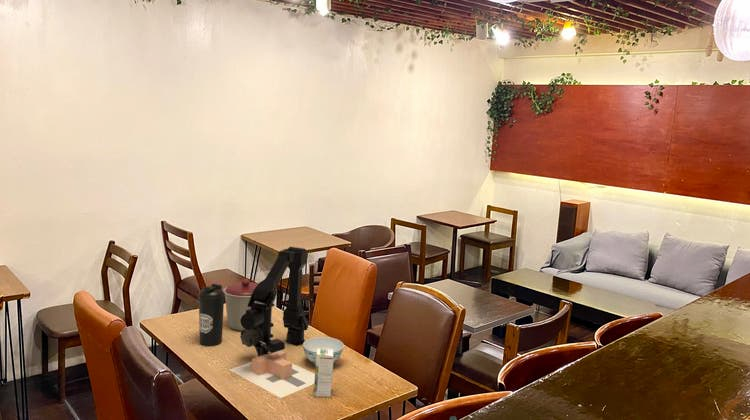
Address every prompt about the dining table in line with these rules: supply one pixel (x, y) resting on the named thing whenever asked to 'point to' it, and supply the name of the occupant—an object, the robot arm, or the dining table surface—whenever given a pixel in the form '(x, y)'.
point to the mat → (277, 379)
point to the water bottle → (211, 315)
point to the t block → (272, 365)
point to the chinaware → (322, 347)
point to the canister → (238, 302)
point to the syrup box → (323, 373)
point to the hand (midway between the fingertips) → (261, 361)
